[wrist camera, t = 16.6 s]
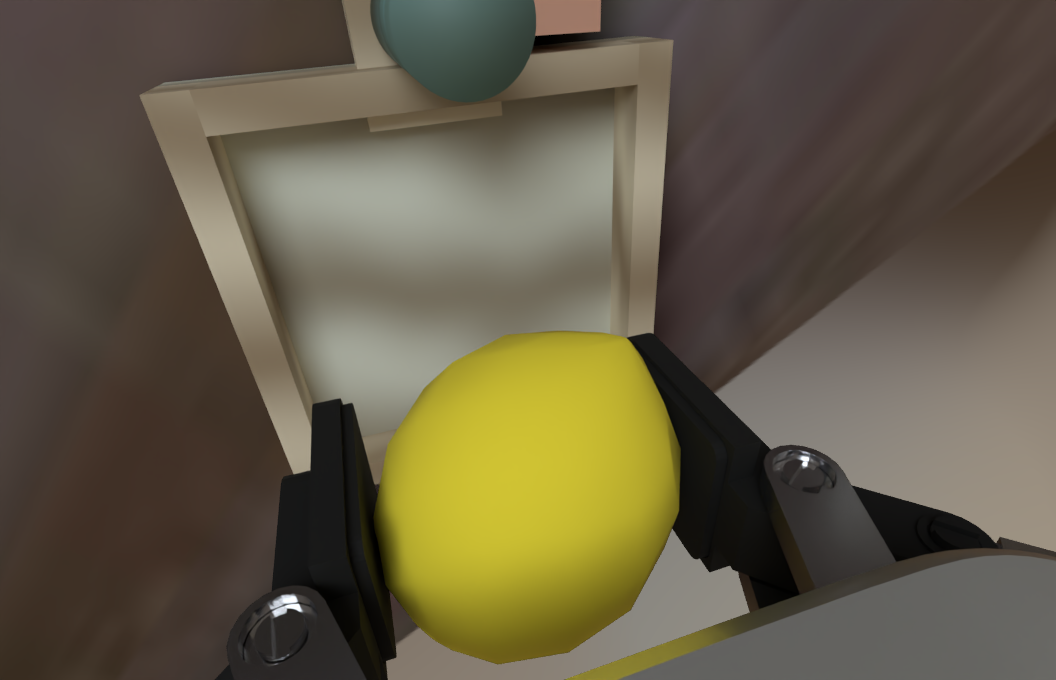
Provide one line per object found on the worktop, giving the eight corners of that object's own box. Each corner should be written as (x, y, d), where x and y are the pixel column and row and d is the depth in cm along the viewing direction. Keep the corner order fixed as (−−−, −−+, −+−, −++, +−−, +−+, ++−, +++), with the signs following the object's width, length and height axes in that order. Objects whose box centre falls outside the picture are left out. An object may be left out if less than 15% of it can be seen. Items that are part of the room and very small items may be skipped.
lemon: (463, 232, 11) (595, 333, 6) (641, 340, 14) (821, 463, 9) (295, 514, 12) (306, 776, 7) (493, 561, 15) (591, 772, 10)
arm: (41, -241, 11) (-249, -488, 5) (643, -231, 14) (854, -387, 8) (307, 458, 21) (300, 619, 15) (622, 380, 24) (710, 493, 18)
